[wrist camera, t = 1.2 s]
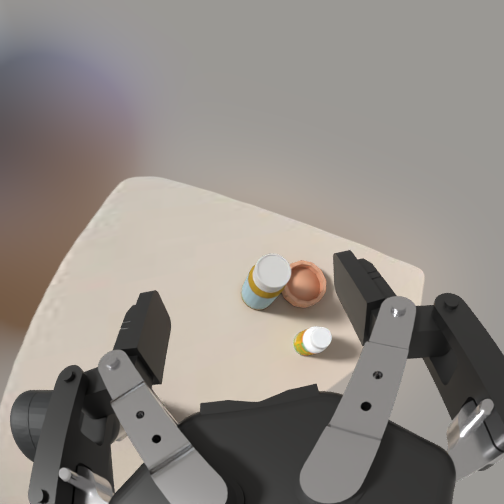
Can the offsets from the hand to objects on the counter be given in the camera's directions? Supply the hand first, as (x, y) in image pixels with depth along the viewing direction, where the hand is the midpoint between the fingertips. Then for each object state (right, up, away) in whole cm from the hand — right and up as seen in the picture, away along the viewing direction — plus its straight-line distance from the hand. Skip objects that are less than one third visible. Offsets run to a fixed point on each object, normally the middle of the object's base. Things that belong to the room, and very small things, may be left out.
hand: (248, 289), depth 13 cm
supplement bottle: (+11, -18, +46) cm, 51 cm away
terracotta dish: (+11, -6, +52) cm, 53 cm away
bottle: (+1, -8, +49) cm, 50 cm away
